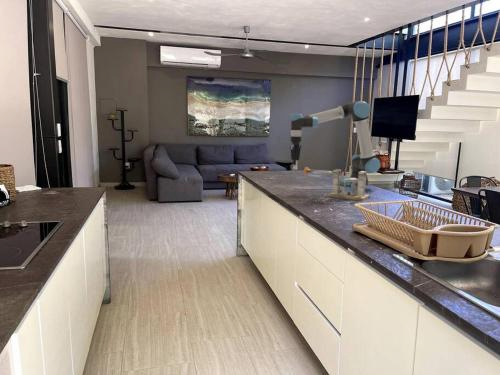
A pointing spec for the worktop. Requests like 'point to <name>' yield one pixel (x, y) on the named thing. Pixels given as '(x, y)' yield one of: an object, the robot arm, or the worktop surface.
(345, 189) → the light bulb box
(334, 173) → the cradle
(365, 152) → the robot arm
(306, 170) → the lock shaft
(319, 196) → the worktop surface
